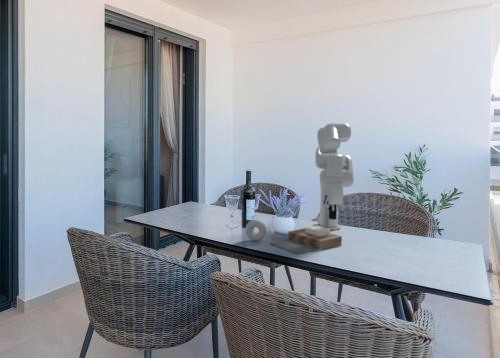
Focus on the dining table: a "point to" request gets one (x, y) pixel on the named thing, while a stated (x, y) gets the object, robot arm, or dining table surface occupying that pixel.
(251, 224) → the donut
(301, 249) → the mat
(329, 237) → the stand
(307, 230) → the tile
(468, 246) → the dining table surface
